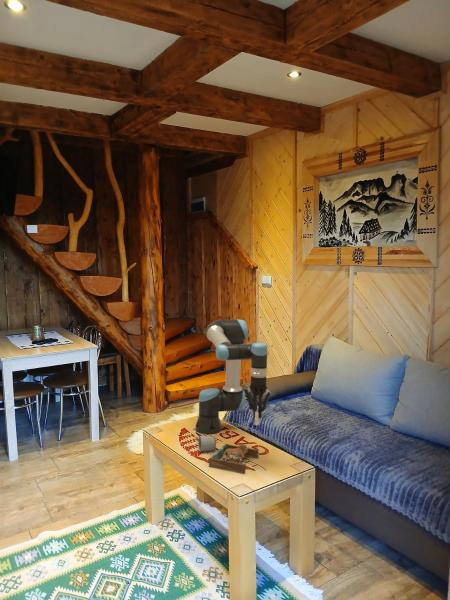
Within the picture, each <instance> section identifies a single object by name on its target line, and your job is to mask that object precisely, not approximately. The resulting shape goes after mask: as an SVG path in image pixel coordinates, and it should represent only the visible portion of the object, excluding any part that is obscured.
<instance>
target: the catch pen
mask: <svg viewBox="0 0 450 600" xmlns="http://www.w3.org/2000/svg"><path fill="white" fill-rule="evenodd" d="M238 446H239V445H233V444H229V443H224V445H222V446H221V447H220V448H219V449H218V450H217V451H215V453H213V454H212V455H211V456H210V457H209V458H208V467H209V468H215V469H219V470H223V471H227V472H233V473H239V474H246V464H245V463H240V462H235V461H229V460H226V461H225V460H222V458H223V457H224V452H225V450H227V449H235V448H237V447H238ZM247 450H248V452H247V453H246V454H245V455H244V457H248V458H251V459H252V458H253V459H259V449H256V448H250V447H247Z"/></svg>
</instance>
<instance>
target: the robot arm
mask: <svg viewBox="0 0 450 600" xmlns="http://www.w3.org/2000/svg"><path fill="white" fill-rule="evenodd" d="M205 336H206V338H207V339H208V340H209V342H212V344H213V345H214V347H215V355H216V356H215V357H216V360H218V361H225V382H224V383H225V385H223V387H222V390H220V389H219V388H216V387H215V388H214V387H212V388H205V389H203V390H201V391H200V392H199V393H198V394H199V395H198V417H197V420H196V423H195V431H196V432H197V433H200V434H205V435H213V434H217V433H220V432H221V431H222V423H221V419H220V415H219V414H220V413H221V412H238V411H242V410H243V409H244V407H245V404H246V397H247V403H248V408H249V409H250V410H251V411H253V412H252V417H253V418H254V425H255V426H259V425H260V419H261V418H262V416H263V412H264V411H266V409H267V406H268V402H269V399H270V396H271V394H272V391H271V390H269V389H268V387H267V372H268V371H267V369H268V368H267V367H268V366H267V365H268V353H269V351H268V345H267V344H266V343H264V342H263V343H262V342H248V343H245V342H246V341H247V340H248V338H249V330H248V325H247V323H246V321H245V320H243V319H238V318H237V319H216V320H214V321H212V322H210V323H209V324H208V326H207V327H206V330H205ZM243 360H244V361H245V360H251V361H250V375H251V376H250V385H249V387H247V388H245V389H244V390H243V387H242V386H241V372H242V371H241V369H242V365H241V364H242V363H241V362H242V361H243ZM264 394H265V397H264V399H263V396H264ZM252 397H253V399H252Z"/></svg>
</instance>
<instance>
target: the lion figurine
mask: <svg viewBox="0 0 450 600" xmlns="http://www.w3.org/2000/svg"><path fill="white" fill-rule="evenodd" d="M237 446H238V447H237V448H235V449H227V450H225V452H224V455H223V457H222V458H221V460H225V461H228V459H230V460H233V459H234V457H235V456H238V458H239V460H240V462H241V463H243V462H244V460H243V459H245V458H246V456H244V455H245V454H246V453H247V452H248V450H247V448H248V447H247V445H246V444H240V445H237Z"/></svg>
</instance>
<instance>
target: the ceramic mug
mask: <svg viewBox="0 0 450 600" xmlns="http://www.w3.org/2000/svg"><path fill="white" fill-rule="evenodd" d="M216 447H217V439H216V437H215V436H212V435H211V436H210V435H209V436H208V435H200V436H199V437H198V451H199V452H201V453H202V452H212V451H215V450H216Z"/></svg>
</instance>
